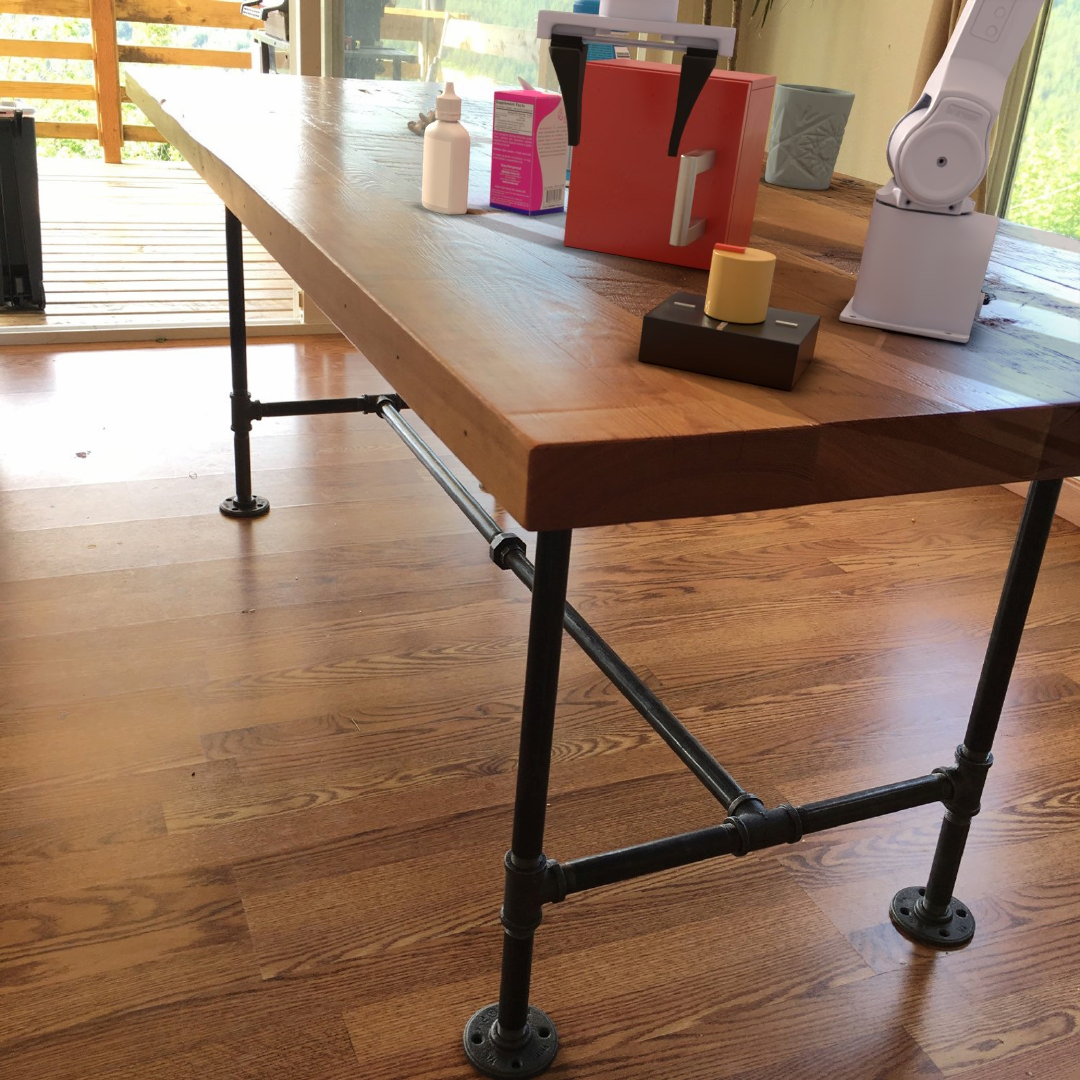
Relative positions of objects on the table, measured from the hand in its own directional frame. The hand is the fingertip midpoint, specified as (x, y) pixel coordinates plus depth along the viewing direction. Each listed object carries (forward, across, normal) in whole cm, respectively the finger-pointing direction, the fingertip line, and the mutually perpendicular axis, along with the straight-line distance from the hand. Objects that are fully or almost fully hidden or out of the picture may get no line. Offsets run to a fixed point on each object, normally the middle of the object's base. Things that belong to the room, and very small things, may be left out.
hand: (622, 150), depth 86 cm
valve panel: (+10, -10, +18) cm, 23 cm away
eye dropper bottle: (+10, +19, -22) cm, 31 cm away
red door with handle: (+10, -1, -7) cm, 12 cm away
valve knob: (+7, -10, +18) cm, 21 cm away
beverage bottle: (+10, +7, -48) cm, 50 cm away
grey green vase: (+10, -20, -68) cm, 72 cm away
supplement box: (+10, +11, -28) cm, 31 cm away
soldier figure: (+10, +34, -82) cm, 89 cm away
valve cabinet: (+10, -4, -16) cm, 19 cm away
